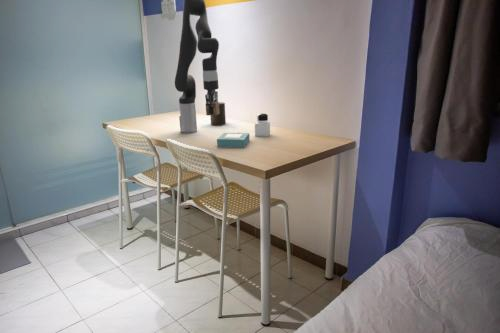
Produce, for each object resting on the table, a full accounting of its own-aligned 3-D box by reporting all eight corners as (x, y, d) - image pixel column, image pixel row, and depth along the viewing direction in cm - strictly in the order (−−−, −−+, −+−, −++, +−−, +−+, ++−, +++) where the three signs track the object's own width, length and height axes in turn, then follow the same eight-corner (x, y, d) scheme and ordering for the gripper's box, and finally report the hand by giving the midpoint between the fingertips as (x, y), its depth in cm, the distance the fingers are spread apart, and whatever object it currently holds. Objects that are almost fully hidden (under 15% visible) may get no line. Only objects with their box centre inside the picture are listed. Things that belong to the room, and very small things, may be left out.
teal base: (217, 146, 190) (216, 138, 189) (224, 139, 203) (224, 132, 202) (244, 147, 188) (243, 139, 186) (249, 140, 201) (249, 132, 199)
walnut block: (206, 115, 192) (205, 103, 190) (209, 113, 197) (208, 102, 195) (216, 115, 191) (215, 103, 189) (219, 113, 196) (218, 101, 194)
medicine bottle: (270, 133, 214) (269, 113, 210) (267, 136, 207) (266, 115, 204) (258, 133, 216) (257, 112, 212) (254, 136, 209) (254, 115, 206)
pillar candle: (223, 125, 239) (222, 102, 234) (208, 125, 241) (207, 102, 236) (227, 122, 248) (226, 100, 243) (213, 122, 250) (212, 100, 245)
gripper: (207, 78, 196) (210, 110, 201) (198, 81, 182) (201, 115, 188) (221, 78, 194) (223, 110, 199) (213, 80, 181) (215, 115, 186)
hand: (212, 112), depth 193 cm, fingers closed on walnut block, 5 cm apart
